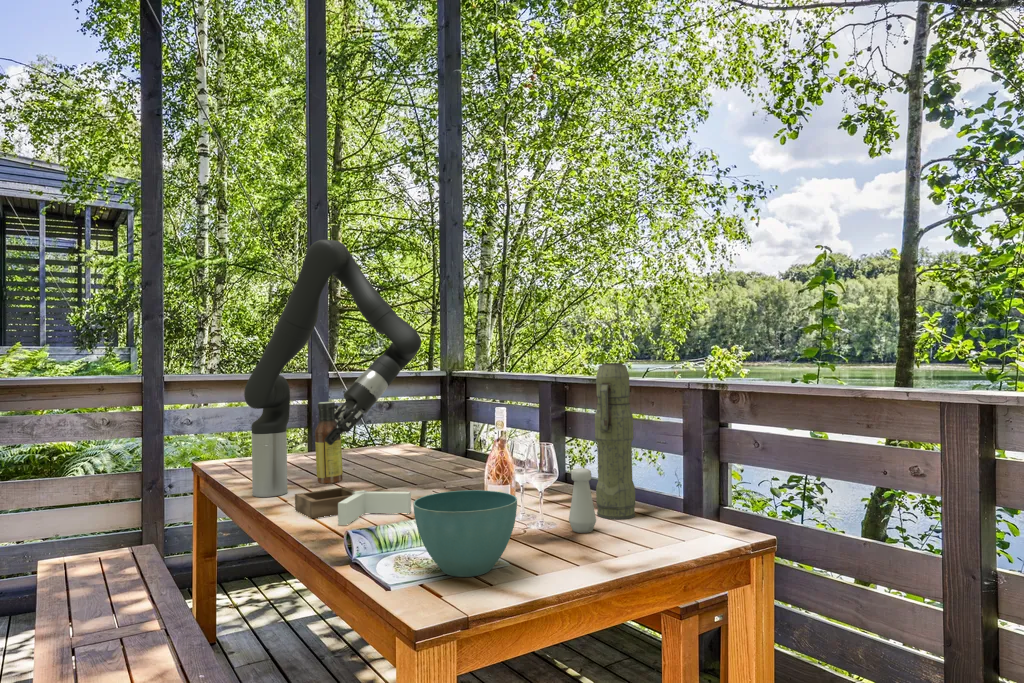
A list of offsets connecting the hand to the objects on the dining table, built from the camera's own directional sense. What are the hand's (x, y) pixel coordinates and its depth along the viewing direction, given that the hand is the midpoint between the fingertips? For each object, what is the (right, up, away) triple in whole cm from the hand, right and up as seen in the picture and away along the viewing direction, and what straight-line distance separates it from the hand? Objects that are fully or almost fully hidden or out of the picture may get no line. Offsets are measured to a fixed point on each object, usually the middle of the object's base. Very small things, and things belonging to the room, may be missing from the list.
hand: (322, 441), depth 167 cm
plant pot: (+39, -16, -48) cm, 64 cm away
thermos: (+71, -16, -10) cm, 73 cm away
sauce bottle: (+1, -11, +1) cm, 11 cm away
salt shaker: (+62, -16, -23) cm, 68 cm away
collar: (+2, -17, +1) cm, 17 cm away
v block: (+13, -17, -6) cm, 22 cm away
